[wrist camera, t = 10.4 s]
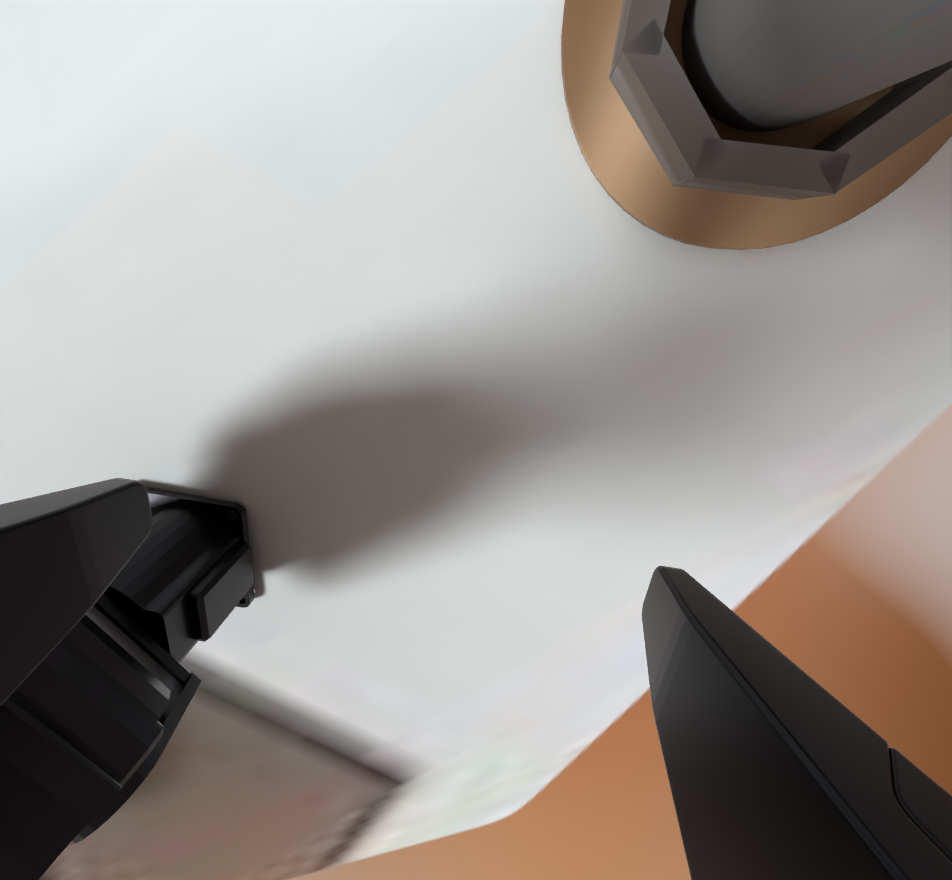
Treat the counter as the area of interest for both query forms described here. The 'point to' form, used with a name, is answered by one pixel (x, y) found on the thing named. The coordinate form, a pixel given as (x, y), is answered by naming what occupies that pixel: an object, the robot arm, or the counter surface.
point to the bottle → (806, 54)
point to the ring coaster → (730, 137)
